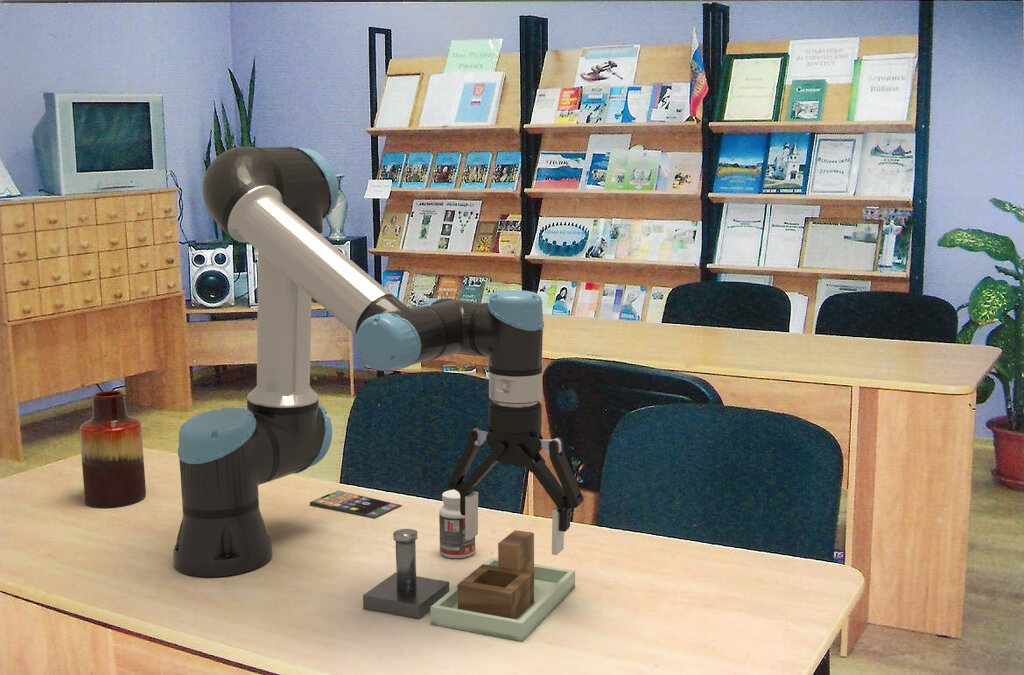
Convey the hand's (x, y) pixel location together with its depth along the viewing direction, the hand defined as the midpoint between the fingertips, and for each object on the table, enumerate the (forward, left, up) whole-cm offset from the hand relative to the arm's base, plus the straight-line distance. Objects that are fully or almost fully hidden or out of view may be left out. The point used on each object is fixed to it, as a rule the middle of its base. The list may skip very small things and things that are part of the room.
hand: (513, 544), depth 154 cm
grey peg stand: (-13, -9, -7) cm, 17 cm away
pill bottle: (-15, +11, -8) cm, 20 cm away
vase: (-87, +11, -8) cm, 88 cm away
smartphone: (-43, +25, -8) cm, 51 cm away
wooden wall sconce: (0, -4, -7) cm, 8 cm away
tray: (0, -4, -7) cm, 9 cm away
